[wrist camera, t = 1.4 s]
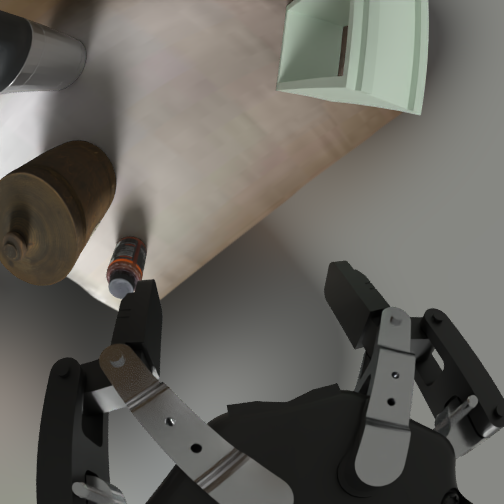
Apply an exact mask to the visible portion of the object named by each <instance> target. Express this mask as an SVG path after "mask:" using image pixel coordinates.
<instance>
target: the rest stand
mask: <svg viewBox="0 0 504 504" xmlns="http://www.w3.org/2000/svg"><path fill="white" fill-rule="evenodd" d="M428 16H429V15H428V0H294V1H293V2H291V3H290V4H289V5H288V6H287V7H286V15H285V23H284V31H283V39H282V47H281V55H280V62H279V70H278V78H277V86H276V91H282V92H288V93H294V94H299V95H305V96H310V97H314V98H319V99H323V100H328V101H332V102H343V103H352V104H360V105H367V106H374V107H380V108H386V109H392V110H397V111H403V112H407V113H412V114H417V115H421V111H422V104H423V97H424V88H425V80H426V69H427V57H428V33H429V32H428V31H429V22H428V21H429V17H428ZM347 25H348V35H347V45H346V54H345V63H344V71H343V76H338V69H339V61H340V52H341V43H342V33H343V27H344V26H347Z"/></svg>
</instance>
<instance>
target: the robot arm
mask: <svg viewBox="0 0 504 504" xmlns="http://www.w3.org/2000/svg"><path fill="white" fill-rule="evenodd" d="M85 61H86V51H85V47H84V45H83V44H82V43H81V42H80V41H78V40H77V39H74V38H72V37H70V36H68V35H66V34H63V33H61V32H59V31H56V30H54V29H52V28H49V27H47V26H44V25H42V24H39V23H36V22H33V21H31V20H28V19H25V18H22V17H19V16H16V15H13V14H10V13H7V12H4V11H1V10H0V94H6V93H17V92H31V91H57V90H62V89H64V88H66V87H68V86H69V85H71V84H72V83H73V82H74V81H75V80H76V79H77V78H78V76H79V75H80V73H81V72H82V70H83V68H84V65H85ZM324 293H325V298H326V301H327V302H328V304H329V306H330V307H331V309H332V311H333V313H334V314H335V316H336V318H337V319H338V321H339V323H340V325H341V326H342V328H343V330H344V331H345V333H346V335H347V336H348V338H349V340H350V342H351V343H352V345H353V347H354V349H358V348H362V347H364V348H365V352H364V355H363V360H362V363H361V368H360V372H359V376H358V379H357V383H356V386H355V389H354V391H348V390H340V388H339V386H338V384H337V383H336V384H333V385H329V386H325V387H322V388H318V389H314V390H311V391H309V392H307V393H306V394H303V395H301V396H299V397H297V398H295V399H293V400H291V401H288V402H261V401H254V402H247V403H240V404H232V405H227V409H228V412H227V413H225V414H222V415H220V416H218V417H216V418H214V419H213V420H211V421H210V422H208V423H207V424H206V423H205V422H204V421H203V420H202V419H201V418H200V417H198V416H197V415H196V414H195V413H194V412H193V411H192V410H191V409H190V408H189V407H188V406H187V405H186V404H185V403H184V402H183V401H182V400H181V399H180V398H179V397H178V396H177V395H176V394H175V393H174V392H173V391H172V390H171V389H170V388H169V387H168V386H167V385H166V384H165V383H163V382H162V383H160V382H159V381H158V380H157V379H159V378H160V352H161V335H162V334H161V333H162V318H163V316H162V308H161V303H160V299H159V295H158V291H157V287H156V283H155V280H154V279H152V280H139V281H137V284H136V288H135V292H133V293H127V294H126V296H125V297H124V298H123V299H122V301H121V304H120V307H119V311H118V315H117V319H116V324H115V328H114V332H113V337H112V341H111V346H109V347H107V348H106V349H105V350H103V352H102V353H101V355H100V358H99V359H98V360H95V361H92V362H89V363H85V364H81V365H80V364H79V363H78V362H77V361H76V360H75V359H73V358H63V359H60V360H58V361H57V362H56V363H55V364H54V365H53V367H52V369H51V371H50V376H49V380H48V385H47V389H46V394H45V399H44V405H43V411H42V418H41V424H40V432H39V441H38V454H37V476H36V486H37V487H36V489H37V490H36V492H37V504H127V503H126V500H125V497H124V495H123V493H122V492H121V491H120V489H118V488H117V487H116V486H114V485H112V484H110V477H109V459H108V414H109V411H112V410H116V409H119V408H123V407H126V406H127V407H128V408H129V409H130V411H131V412H132V413H133V415H134V416H135V417H136V419H137V420H138V421H139V422H140V424H141V425H142V426H143V427H144V429H145V430H146V431H147V432H148V433H149V434H150V436H151V437H152V438H153V439H154V440H155V441H156V442H157V444H158V445H159V446H160V447H161V448H162V449H163V450H164V452H165V453H166V454H167V455H168V456H169V457H170V458H171V459H172V460H173V461H174V462H175V463H176V465H175V466H174V467H173V469H172V470H171V471H170V473H169V474H168V476H167V477H166V478H165V479H164V481H163V482H162V483H161V485H160V486H159V487H158V489H157V490H156V491H155V492H154V493H153V495H152V496H151V497H150V499H149V500H148V501H147V502H146V504H473V503H471V502H470V501H468V500H467V499H466V498H465V497H464V496H463V495H462V494H461V493H460V492H459V490H458V488H457V483H456V475H455V461H456V459H457V458H458V457H460V456H463V455H465V454H466V453H468V452H469V451H471V450H473V449H474V448H475V447H477V446H478V445H480V444H481V443H483V442H484V441H485V440H487V439H488V438H490V437H491V436H492V435H494V434H495V433H496V432H497V431H499V430H500V429H501V428H502V427H504V398H503V397H502V395H501V394H500V392H499V390H498V388H497V386H496V385H495V383H494V382H493V380H492V378H491V377H490V376H489V374H488V372H487V371H486V369H485V368H484V366H483V365H482V363H481V362H480V360H479V359H478V357H477V356H476V354H475V353H474V351H473V350H472V349H471V347H470V346H469V344H468V343H467V342H466V341H465V339H464V338H463V336H462V335H461V334H460V332H459V331H458V330H457V328H456V327H455V326H454V324H453V323H452V322H451V320H450V319H449V318H448V317H447V315H446V314H445V313H443V312H442V311H440V310H438V309H434V308H433V309H428V310H427V311H426V312H425V314H424V316H423V317H409V315H408V314H407V313H406V312H405V311H404V310H402V309H400V308H396V307H390V306H389V304H388V303H387V302H386V301H385V299H384V298H383V297H382V296H381V294H380V293H379V292H378V291H377V289H375V287H374V286H373V285H372V283H370V281H369V280H368V278H367V277H366V276H365V275H364V274H362V273H361V272H359V271H358V270H354V269H353V268H352V267H351V265H350V264H349V263H348V262H347V261H338V262H331V263H330V265H329V268H328V274H327V278H326V283H325V288H324ZM434 349H436V351H437V352H438V354H439V355H440V357H441V358H442V360H443V361H444V370H443V371H442V370H441V368H440V367H439V365H438V363H437V362H436V360H435V359H434V357H433V355H432V352H433V351H434ZM414 380H415V382H416V383H417V385H418V387H419V389H420V391H421V392H422V394H423V396H424V398H425V400H426V402H427V404H428V406H429V408H430V410H431V412H432V414H433V416H434V418H435V428H434V429H433V430H432V429H430V428H428V427H426V426H424V425H422V424H420V423H418V422H415V421H414V420H412V419H410V411H411V404H412V395H413V385H414Z"/></svg>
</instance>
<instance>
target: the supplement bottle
mask: <svg viewBox="0 0 504 504" xmlns="http://www.w3.org/2000/svg"><path fill="white" fill-rule="evenodd" d="M146 254H147V251H146V247H145V245H144V243H143V242H142V241H141V240H139V239H138V238H135V237H125V238H123V239H121V240H120V241H119V242H118V244H117V245H116V248H115V250H114V253H113V256H112V258H111V261H110V264H109V266H108V269H107V274H106V277H107V281H108V283H109V291H110V293H111V294H112V295H113V296H115V297H117V298H119V299H123V298H124V297H125V296H126V294H127V293H133V291H135V288H136V284H137V281H139V280H142V276H143V270H144V265H145V260H146Z"/></svg>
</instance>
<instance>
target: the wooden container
mask: <svg viewBox="0 0 504 504" xmlns="http://www.w3.org/2000/svg"><path fill="white" fill-rule="evenodd" d="M115 189H116V177H115V172H114V169H113V166H112V164H111V162H110V160H109V158H108V157H107V156H106V154H105V153H104V152H103V151H102V150H101V149H100V148H99V147H97V146H96V145H94V144H92V143H89V142H86V141H70V142H66V143H64V144H62V145H59V146H57V147H55V148H53V149H51V150H49V151H47V152H45V153H43V154H41V155H39V156H38V157H36V158H34V159H33V160H31V161H29V162H28V163H26V164H24V165H23V166H21V167H19V168H17V169H15V170H14V171H12V172H10V173H9V174H7V175H6V176H5V177H3V178H2V179H1V180H0V261H1V263H2V264H3V265H4V266H5V267H6V269H8V270H9V271H10V272H11V273H12V274H13V275H15V276H16V277H17V278H19V279H21V280H23V281H25V282H27V283H30V284H34V285H51V284H55V283H57V282H59V281H61V280H62V279H64V278H65V277H66V276H67V275H68V274H69V272H70V271H71V270H72V268H73V266H74V265H75V263H76V261H77V259H78V257H79V255H80V253H81V252H82V250H83V249H84V247H85V246H86V244H87V242H88V241H89V239H90V237H91V236H92V234H93V233H94V231H95V230H96V228H97V227H98V225H99V223H100V222H101V220H102V218H103V217H104V215H105V213H106V212H107V210H108V208H109V207H110V205H111V203H112V201H113V198H114V194H115Z"/></svg>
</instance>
